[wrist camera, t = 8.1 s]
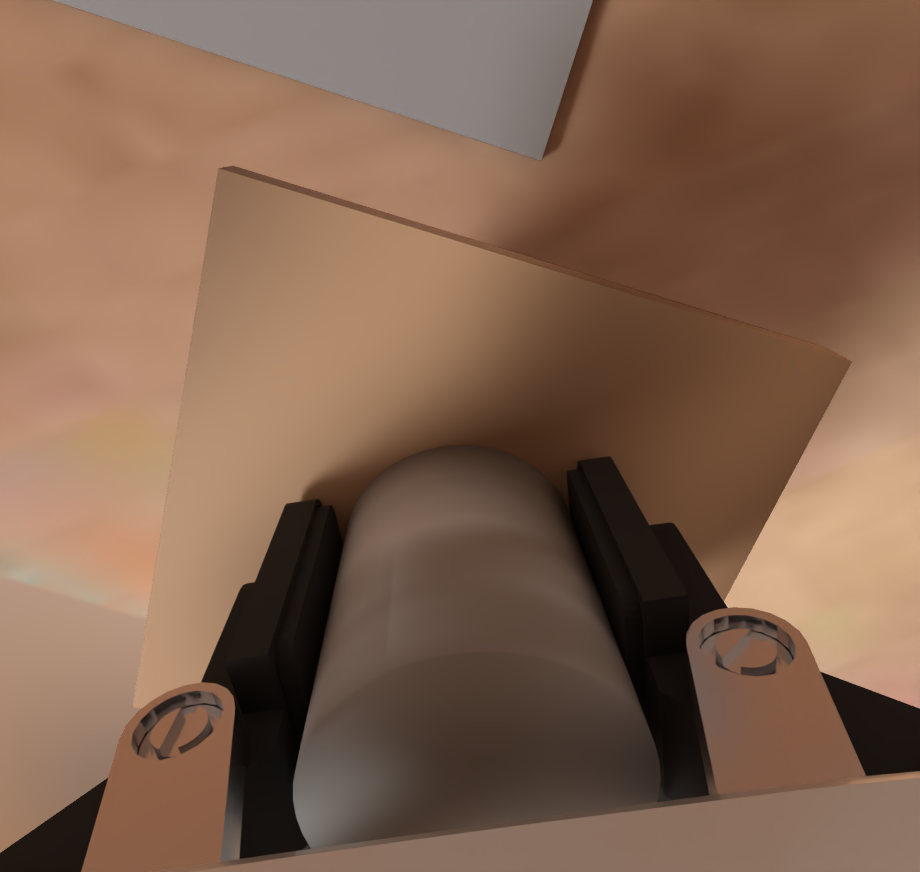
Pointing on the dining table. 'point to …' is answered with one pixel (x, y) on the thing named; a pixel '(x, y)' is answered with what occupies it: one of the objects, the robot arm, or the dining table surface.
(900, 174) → the dining table surface
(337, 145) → the dining table surface
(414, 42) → the mat
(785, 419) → the lid
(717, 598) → the robot arm
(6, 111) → the dining table surface
